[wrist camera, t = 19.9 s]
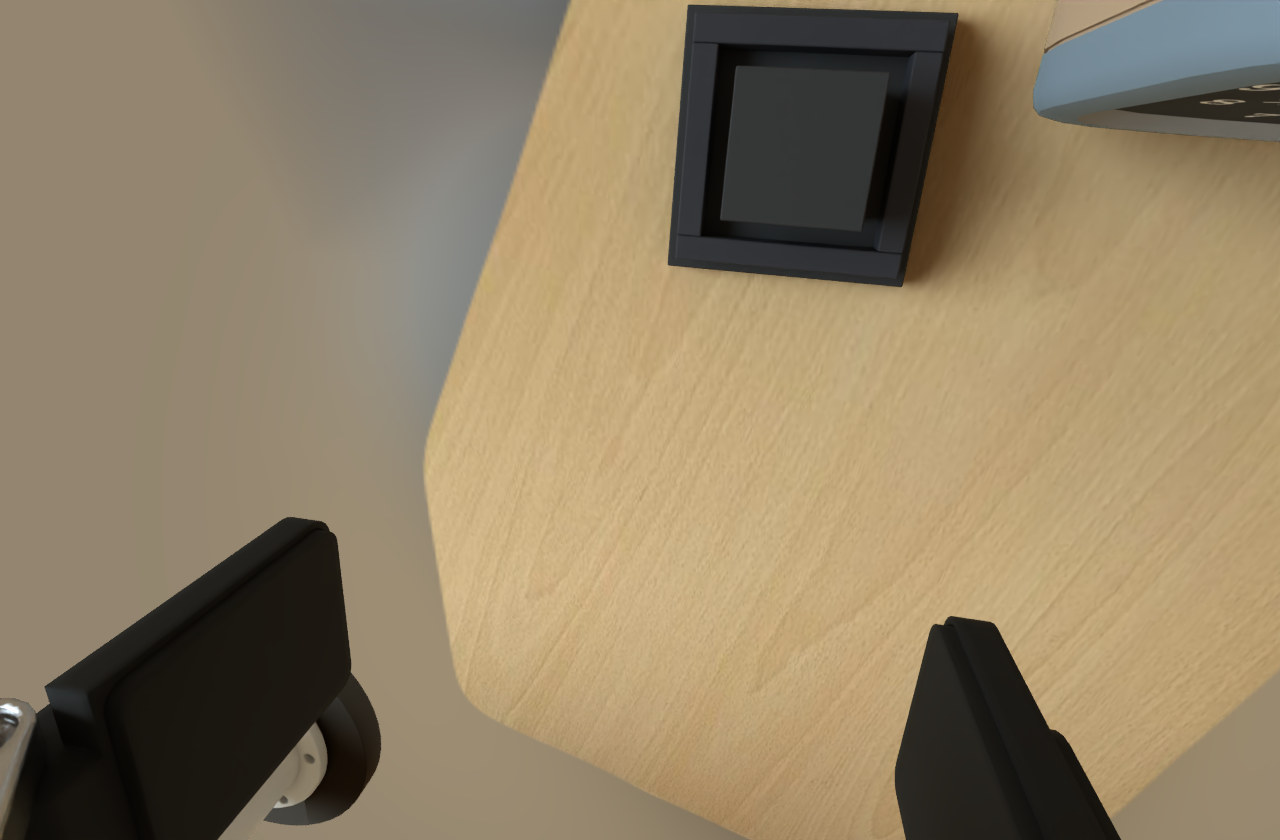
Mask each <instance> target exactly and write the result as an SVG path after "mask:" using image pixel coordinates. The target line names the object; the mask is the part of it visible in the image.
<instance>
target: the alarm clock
mask: <svg viewBox="0 0 1280 840" xmlns="http://www.w3.org/2000/svg"><path fill="white" fill-rule="evenodd" d="M1033 107H1034V109H1035V111H1036V112H1037V113H1038V115H1039V116H1042V117H1045V118H1048V119H1051V120H1055V121H1058V122H1062V123H1068V124H1075V125H1082V126H1089V127H1098V128H1110V129H1121V130H1132V131H1144V132H1155V133H1166V134H1179V135H1192V136H1206V137H1220V138H1233V139H1247V140H1261V141H1274V142H1280V0H1058V1H1057V5H1056V9H1055V12H1054V16H1053V20H1052V23H1051V27H1050V31H1049V35H1048V38H1047V42H1046V46H1045V49H1044V55H1043V57H1042V61H1041V64H1040V68H1039V72H1038V75H1037V79H1036V83H1035V86H1034V90H1033Z"/></svg>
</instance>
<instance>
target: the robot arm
mask: <svg viewBox="0 0 1280 840" xmlns="http://www.w3.org/2000/svg"><path fill="white" fill-rule="evenodd" d="M350 672H351V657H350V648H349V640H348V631H347V622H346V613H345V605H344V596H343V588H342V578H341V569H340V561H339V552H338V543H337V538H336V536H335V534H333V533H332V532H330V531H329V528H328V526H327V525H326V524H325V523H323V522H322V521H315V520H308V519H301V518H295V517H287V518H285V519H283V520H281V521H279V522H278V523H277V524H275V525H274V526H272V527H271V528H270V529H268V530H267V531H265V532H264V533H262V534H261V535H260V536H258V537H257V538H255V539H254V540H253V541H251V542H250V543H248V544H247V545H245V546H244V547H243V548H241V549H240V550H239V551H237V552H235V553H234V554H233V555H231V556H230V557H228V558H227V559H225V560H224V561H223V562H221V563H220V564H218V565H217V566H215V567H214V568H213V569H211V570H210V571H208V572H207V573H206V574H204V575H203V576H201V577H200V578H199V579H197V580H196V581H194V582H193V583H191V584H190V585H189V586H187V587H186V588H184V589H183V590H181V591H180V592H178V593H177V594H176V595H174V596H173V597H171V598H170V599H168V600H167V601H166V602H164V603H163V604H161V605H160V606H159V607H157V608H156V609H154V610H153V611H151V612H150V613H149V614H147V615H146V616H144V617H143V618H142V619H140V620H139V621H137V622H136V623H134V624H133V625H132V626H130V627H129V628H127V629H126V630H124V631H123V632H122V633H120V634H119V635H117V636H116V637H114V638H113V639H112V640H110V641H109V642H107V643H106V644H104V645H103V646H102V647H100V648H99V649H97V650H96V651H94V652H93V653H92V654H90V655H89V656H87V657H86V658H85V659H83V660H82V661H80V662H79V663H77V664H76V665H75V666H73V667H72V668H70V669H69V670H68V671H66V672H65V673H63V674H62V675H60V676H59V677H57V678H56V679H55V680H53V681H52V682H51V683H49V684H48V685H46V686H45V689H46V693H47V696H48V699H49V702H50V704H49V705H47V706H46V707H45V708H43V709H42V710H41V711H39V712H38V713H35V710H34V709H33V708H32V707H31V706H30V705H29V703H27V702H24V701H21V700H18V699H14V698H0V840H248V839H249V837H250V836H251V835H252V834H253V833H254V831H255V830H256V829H257V827H258V826H259V825H260V824H261V822H262V821H263V820H264V819H265V817H266V816H267V815H268V814H269V812H270V811H271V810H272V808H282V807H288V806H293V805H295V804H298V803H300V802H302V801H304V800H305V799H306V798H308V797H309V796H310V795H311V794H312V793H313V792H314V790H315V789H316V788H317V786H318V785H319V784H320V782H321V781H322V779H323V777H324V775H325V773H326V770H327V764H328V753H327V746H326V743H325V739H324V736H323V733H322V731H321V729H320V727H319V725H318V723H317V719H318V718H319V717H320V716H321V715H322V713H323V712H324V711H325V710H326V709H327V707H328V706H329V705H330V704H331V702H332V701H333V700H334V699H335V698H336V696H337V695H338V694H339V693H340V692H341V690H342V689H343V688H344V686H345V685H346V683H347V681H348V679H349V675H350ZM895 789H896V795H897V800H898V805H899V809H900V814H901V819H902V823H903V828H904V833H905V837H906V840H1121V839H1120V837H1119V835H1118V834H1117V831H1116V830H1115V828H1114V826H1113V824H1112V822H1111V820H1110V818H1109V816H1108V815H1107V813H1106V811H1105V809H1104V807H1103V805H1102V803H1101V802H1100V800H1099V798H1098V796H1097V794H1096V792H1095V790H1094V789H1093V787H1092V785H1091V783H1090V781H1089V779H1088V778H1087V776H1086V774H1085V772H1084V770H1083V768H1082V766H1081V765H1080V763H1079V761H1078V759H1077V757H1076V755H1075V753H1074V752H1073V750H1072V748H1071V746H1070V745H1069V743H1068V742H1067V740H1066V739H1065V737H1064V736H1063V735H1062V734H1060V733H1059V732H1057V731H1056V730H1050V729H1049V727H1048V725H1047V723H1046V721H1045V719H1044V717H1043V715H1042V713H1041V712H1040V710H1039V708H1038V706H1037V704H1036V702H1035V700H1034V698H1033V696H1032V694H1031V692H1030V690H1029V688H1028V686H1027V684H1026V683H1025V681H1024V679H1023V677H1022V675H1021V673H1020V671H1019V669H1018V667H1017V665H1016V663H1015V661H1014V659H1013V657H1012V656H1011V654H1010V652H1009V650H1008V648H1007V646H1006V644H1005V642H1004V640H1003V638H1002V636H1001V634H1000V632H999V630H998V629H997V627H996V626H995V624H994V623H991V622H987V621H980V620H974V619H967V618H961V617H954V616H950V617H948V618H947V620H946V621H945V623H944V625H938V624H934V625H933V626H932V628H931V630H930V633H929V637H928V641H927V645H926V648H925V652H924V656H923V660H922V664H921V668H920V672H919V676H918V680H917V684H916V688H915V691H914V695H913V699H912V703H911V707H910V711H909V715H908V719H907V723H906V727H905V731H904V734H903V738H902V742H901V746H900V750H899V754H898V758H897V762H896V767H895Z"/></svg>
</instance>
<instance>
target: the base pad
mask: <svg viewBox="0 0 1280 840" xmlns="http://www.w3.org/2000/svg"><path fill="white" fill-rule="evenodd" d="M957 20H958V13H939V12H907V11H875V10H843V9H811V8H779V7H747V6H715V5H688V10H687V23H686V36H685V48H684V61H683V74H682V87H681V100H680V113H679V126H678V139H677V152H676V165H675V177H674V190H673V203H672V216H671V229H670V242H669V255H668V265H670V266H681V267H692V268H703V269H713V270H724V271H735V272H746V273H756V274H767V275H778V276H788V277H799V278H810V279H821V280H831V281H842V282H853V283H864V284H874V285H885V286H896V287H902V285H903V280H904V275H905V271H906V266H907V261H908V256H909V251H910V246H911V242H912V237H913V232H914V227H915V222H916V217H917V213H918V208H919V203H920V198H921V193H922V189H923V184H924V179H925V174H926V169H927V164H928V160H929V155H930V150H931V145H932V140H933V135H934V131H935V126H936V121H937V116H938V111H939V107H940V102H941V97H942V92H943V87H944V82H945V78H946V73H947V68H948V63H949V58H950V53H951V49H952V44H953V39H954V34H955V29H956V24H957ZM738 65H739V66H761V67H783V68H805V69H827V70H849V71H871V72H889V73H890V80H889V85H888V91H887V96H886V102H885V107H884V113H883V119H882V124H881V130H880V135H879V141H878V146H877V152H876V157H875V163H874V169H873V174H872V180H871V185H870V191H869V196H868V202H867V207H866V213H865V219H864V224H863V230H862V231H861V232H859V231H847V230H834V229H822V228H810V227H798V226H785V225H773V224H761V223H749V222H736V221H724V220H721V219H720V216H721V206H722V197H723V187H724V177H725V168H726V158H727V148H728V139H729V129H730V119H731V110H732V100H733V90H734V81H735V71H736V66H738Z"/></svg>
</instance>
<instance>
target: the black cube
mask: <svg viewBox="0 0 1280 840" xmlns="http://www.w3.org/2000/svg"><path fill="white" fill-rule="evenodd" d="M889 80H890V73H889V72H871V71H849V70H827V69H805V68H783V67H761V66H739V65H738V66H736V71H735V81H734V90H733V100H732V110H731V119H730V129H729V139H728V148H727V158H726V168H725V177H724V187H723V197H722V206H721V216H720V219H721V220H724V221H736V222H749V223H761V224H773V225H785V226H798V227H810V228H822V229H834V230H847V231H859V232H861V231H862V230H863V224H864V219H865V213H866V207H867V202H868V196H869V191H870V185H871V180H872V174H873V169H874V163H875V157H876V152H877V146H878V141H879V135H880V130H881V124H882V119H883V113H884V107H885V102H886V96H887V91H888V85H889Z"/></svg>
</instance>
